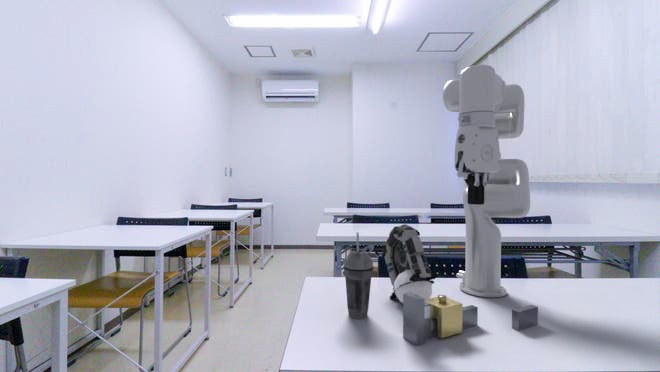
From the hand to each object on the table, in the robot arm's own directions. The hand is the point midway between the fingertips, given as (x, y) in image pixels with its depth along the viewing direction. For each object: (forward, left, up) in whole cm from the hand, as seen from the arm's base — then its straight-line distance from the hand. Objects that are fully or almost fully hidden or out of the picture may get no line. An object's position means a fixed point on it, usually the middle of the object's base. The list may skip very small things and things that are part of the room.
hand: (475, 204), depth 76 cm
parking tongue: (+6, +9, -27) cm, 29 cm away
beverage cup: (-16, -21, -27) cm, 38 cm away
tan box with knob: (0, -10, -27) cm, 28 cm away
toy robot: (-19, -4, -27) cm, 34 cm away
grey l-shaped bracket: (0, -9, -27) cm, 29 cm away
